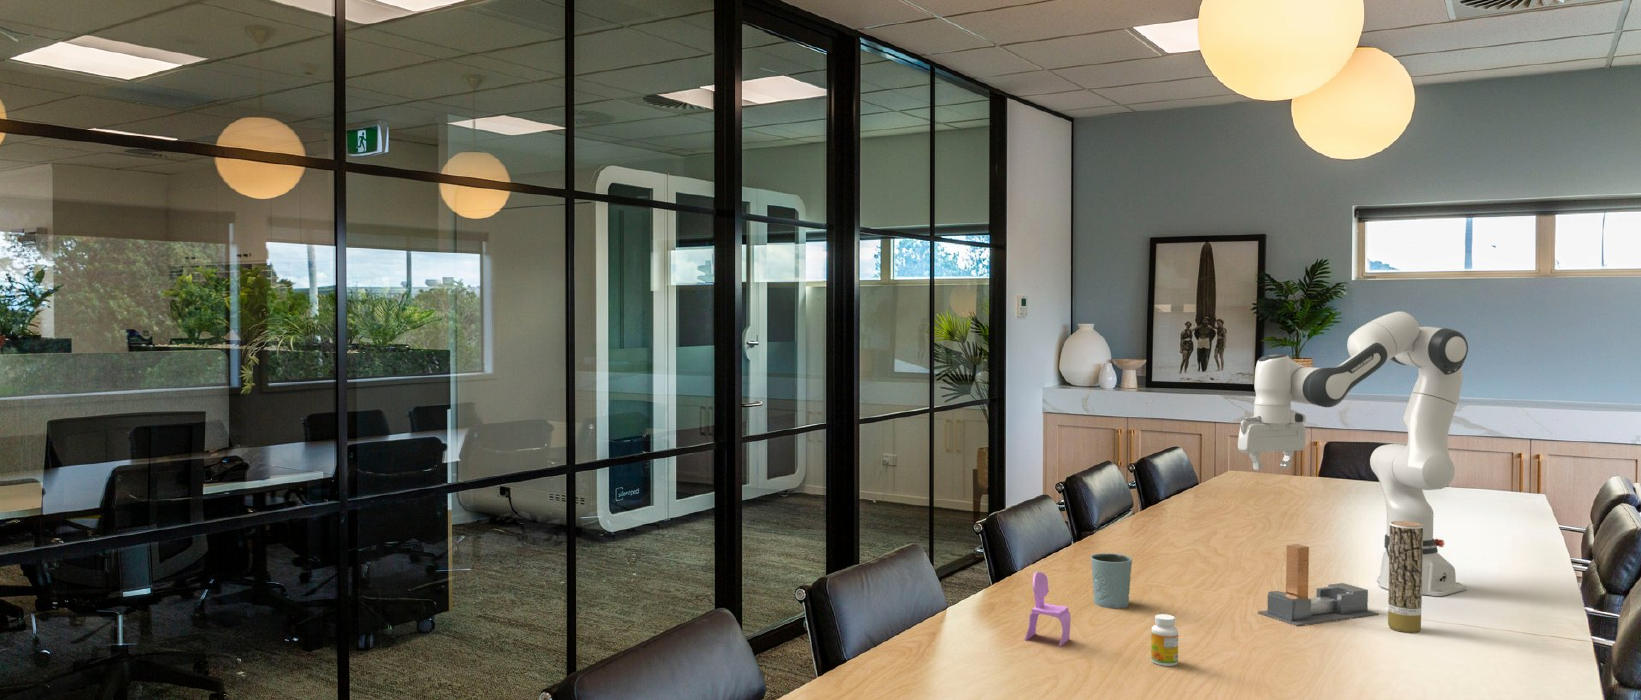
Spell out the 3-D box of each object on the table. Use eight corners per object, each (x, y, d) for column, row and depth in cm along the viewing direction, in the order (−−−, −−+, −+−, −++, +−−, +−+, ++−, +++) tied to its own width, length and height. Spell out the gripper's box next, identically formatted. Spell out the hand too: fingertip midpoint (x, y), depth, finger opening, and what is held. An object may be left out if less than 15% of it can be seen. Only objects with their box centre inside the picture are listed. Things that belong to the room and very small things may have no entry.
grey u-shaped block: (1342, 603, 263) (1342, 582, 263) (1367, 611, 256) (1367, 589, 256) (1316, 607, 259) (1316, 586, 259) (1341, 614, 253) (1341, 593, 252)
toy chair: (1060, 648, 226) (1061, 580, 226) (1022, 641, 231) (1023, 575, 230) (1072, 638, 233) (1073, 573, 233) (1035, 632, 238) (1036, 568, 237)
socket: (1286, 611, 256) (1286, 589, 256) (1310, 619, 249) (1311, 596, 249) (1267, 613, 253) (1267, 591, 253) (1291, 621, 246) (1291, 599, 246)
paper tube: (1425, 634, 238) (1427, 527, 238) (1393, 632, 240) (1395, 525, 239) (1414, 626, 245) (1416, 521, 244) (1383, 624, 246) (1385, 520, 246)
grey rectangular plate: (1337, 602, 265) (1337, 601, 265) (1378, 614, 254) (1378, 613, 254) (1257, 613, 255) (1257, 611, 255) (1296, 626, 244) (1296, 624, 244)
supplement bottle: (1146, 658, 219) (1147, 613, 219) (1171, 658, 220) (1171, 612, 219) (1157, 666, 214) (1157, 620, 214) (1182, 666, 214) (1182, 620, 214)
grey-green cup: (1134, 601, 265) (1134, 555, 265) (1128, 611, 256) (1129, 563, 256) (1094, 597, 269) (1094, 551, 269) (1087, 606, 260) (1087, 559, 260)
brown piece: (1325, 607, 258) (1326, 541, 258) (1337, 611, 255) (1338, 543, 254) (1280, 613, 252) (1281, 545, 252) (1291, 617, 249) (1292, 548, 249)
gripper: (1250, 418, 262) (1250, 472, 262) (1310, 415, 270) (1309, 468, 270) (1232, 416, 268) (1231, 468, 268) (1291, 414, 275) (1290, 465, 276)
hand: (1271, 468), depth 269 cm, fingers open, 8 cm apart
